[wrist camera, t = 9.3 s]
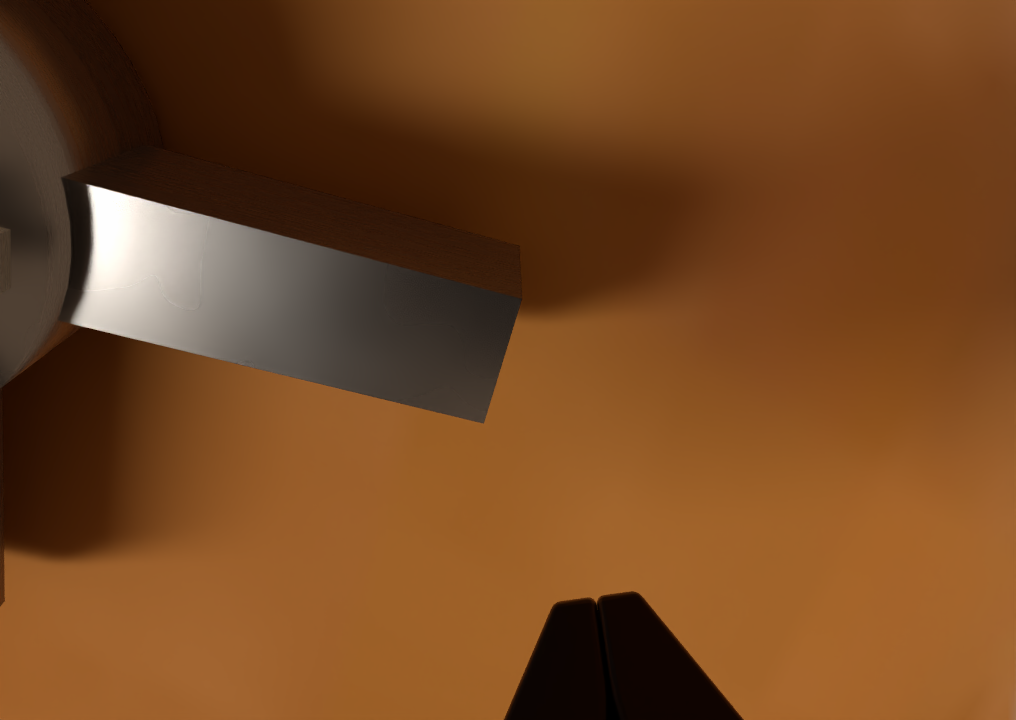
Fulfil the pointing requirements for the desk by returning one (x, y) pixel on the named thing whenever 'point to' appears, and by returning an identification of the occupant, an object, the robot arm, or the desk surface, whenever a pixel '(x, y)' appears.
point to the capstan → (218, 245)
